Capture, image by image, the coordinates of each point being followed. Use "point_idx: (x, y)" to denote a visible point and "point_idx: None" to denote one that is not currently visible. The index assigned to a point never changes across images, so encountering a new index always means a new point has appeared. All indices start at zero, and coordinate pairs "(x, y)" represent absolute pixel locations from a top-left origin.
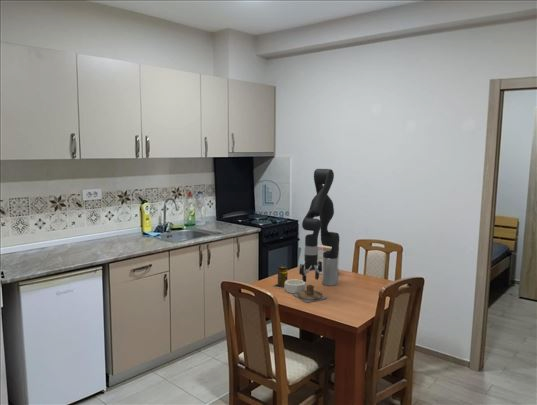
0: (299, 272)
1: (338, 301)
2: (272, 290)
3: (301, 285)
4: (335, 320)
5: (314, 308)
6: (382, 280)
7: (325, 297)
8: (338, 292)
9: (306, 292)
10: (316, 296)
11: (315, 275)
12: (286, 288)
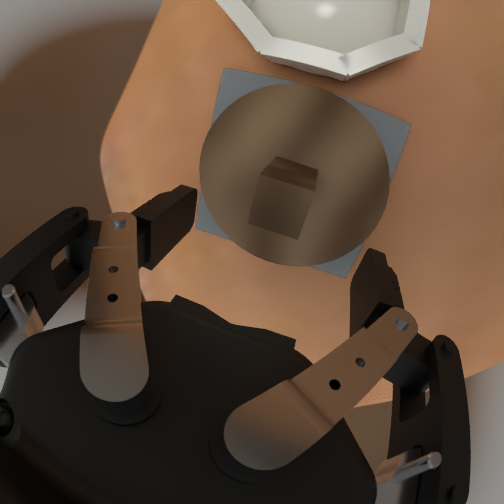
0: (54, 219)
1: (349, 327)
2: None
3: (312, 66)
4: None
5: (182, 288)
6: None
7: (347, 268)
8: (481, 266)
9: (274, 160)
10: (285, 244)
11: (371, 277)
12: None
